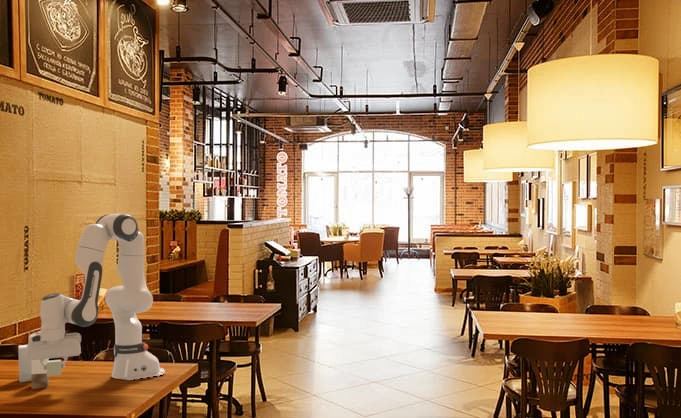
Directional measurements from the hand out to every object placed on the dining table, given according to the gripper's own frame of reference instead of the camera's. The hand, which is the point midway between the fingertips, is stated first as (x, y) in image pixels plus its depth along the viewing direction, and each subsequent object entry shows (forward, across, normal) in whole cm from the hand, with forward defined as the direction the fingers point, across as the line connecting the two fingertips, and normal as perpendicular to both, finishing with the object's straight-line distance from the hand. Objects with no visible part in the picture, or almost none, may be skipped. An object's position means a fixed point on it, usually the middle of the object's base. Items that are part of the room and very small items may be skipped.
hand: (54, 368), depth 258 cm
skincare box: (+9, +11, -22) cm, 27 cm away
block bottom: (+9, +6, -9) cm, 14 cm away
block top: (+3, +6, -10) cm, 12 cm away
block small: (+2, 0, 0) cm, 2 cm away
